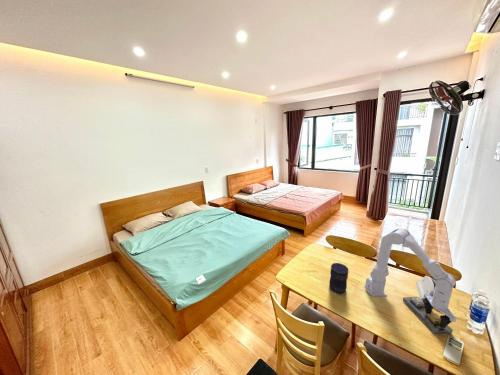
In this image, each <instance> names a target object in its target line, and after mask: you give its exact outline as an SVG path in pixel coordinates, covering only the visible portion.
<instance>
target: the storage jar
mask: <svg viewBox="0 0 500 375" xmlns="http://www.w3.org/2000/svg"><path fill="white" fill-rule="evenodd" d="M330 265H331V266H330V277H329V286H328V287H329V290H330V291H331V292H333V293H334V294H336V295H337V294H338V295H344V294H345V293H346V292H347V287H348V282H347V281H348V278H349V268H348V267H347V265H345V264H343V263H340V262H334V263H332V264H330Z"/></svg>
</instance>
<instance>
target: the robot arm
mask: <svg viewBox="0 0 500 375" xmlns="http://www.w3.org/2000/svg"><path fill="white" fill-rule="evenodd" d="M393 245H397V246H398V245H401V247H404V248H408V249H409V250H411V251H412V252H413V254H414V255H416V256H417V258H418V259H419V260H420V261H421V262H422V267H424V269H425V270H426V271H427V273H429V274H430V276H432V277H431V278H432V279H434V280H435V284H436V286H435V290H434V294H433V297H432V296H430V295H429V294H424V296H423V297H424V298H425V299H423V300H422V301H423V303H424V306H425V311H426V314H428V313H431V312H432V311H433V309H436V310H437V311H438V312H440V313H441V314H444V315H439V316H440V318H441V322H440V327H441V328H446V326H447V325H448V326H449V325H450V324H451V323H453V322H454V323H455V322H457V320H458V319H457V317H456V316H455V315H454V313H452V311H451V310H450V309H449V304H450V301H451V297H452V293H453V288H454V286H455V284H456V278H455V277H454V276H453V275H452V274H450V273H449V272H446V271H445V269H443V267H442V266H441V264H440V262H437V260H435V259H432V258H430V256H429V255H428V254H427V253H426V252H425V250H424V249H423V248H422V247H421V246H420V245H419V243H418V242H417V241H416V239H415V237H414V235H412V233H411V232H410V231H409V230H408V229H406V228H402V227H401V228H396V229H394V230H393V231H390V232H389V233H387V234H385V235H384V236H382V237H381V242H380V246H379V251H378V255H377V260H376V264H375V265H374V267H373V269H372V271H371V272H370V277H367V278H366V280H365V284H364V286H363V287H364V288H365V289H366V291H367V292H368V293H369V295H371V296H370V297H384V296H385V297H387V296H388V294H387V293H386V291H385V287H386V281H387V278H386V277H387V276H389V274H390V273H389V272H390V271H389V266H388V263H389V259H390V256H391V255H390V254H391V251H392V246H393Z"/></svg>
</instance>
